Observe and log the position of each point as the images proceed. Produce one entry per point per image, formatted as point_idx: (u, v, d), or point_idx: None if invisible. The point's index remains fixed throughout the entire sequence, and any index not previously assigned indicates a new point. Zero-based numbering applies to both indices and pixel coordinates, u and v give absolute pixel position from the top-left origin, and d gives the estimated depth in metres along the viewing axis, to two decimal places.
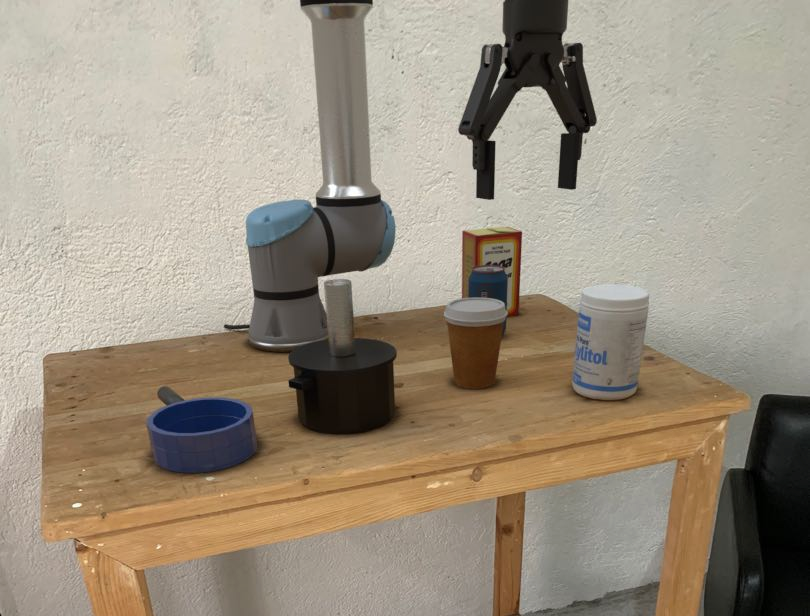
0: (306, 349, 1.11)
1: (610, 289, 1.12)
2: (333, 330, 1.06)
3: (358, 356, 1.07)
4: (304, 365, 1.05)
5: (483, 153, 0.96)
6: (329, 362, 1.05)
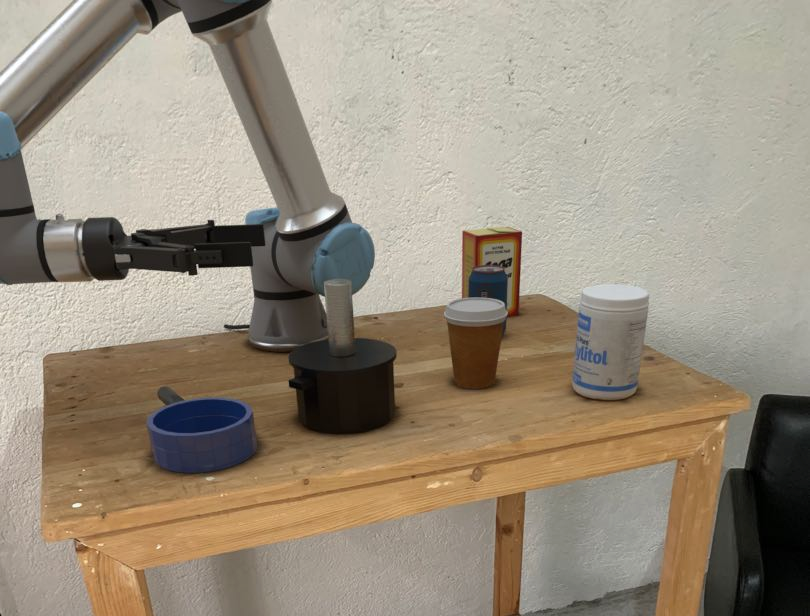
0: (306, 349, 1.11)
1: (610, 289, 1.12)
2: (333, 330, 1.06)
3: (358, 356, 1.07)
4: (304, 365, 1.05)
5: (205, 250, 0.94)
6: (329, 362, 1.05)
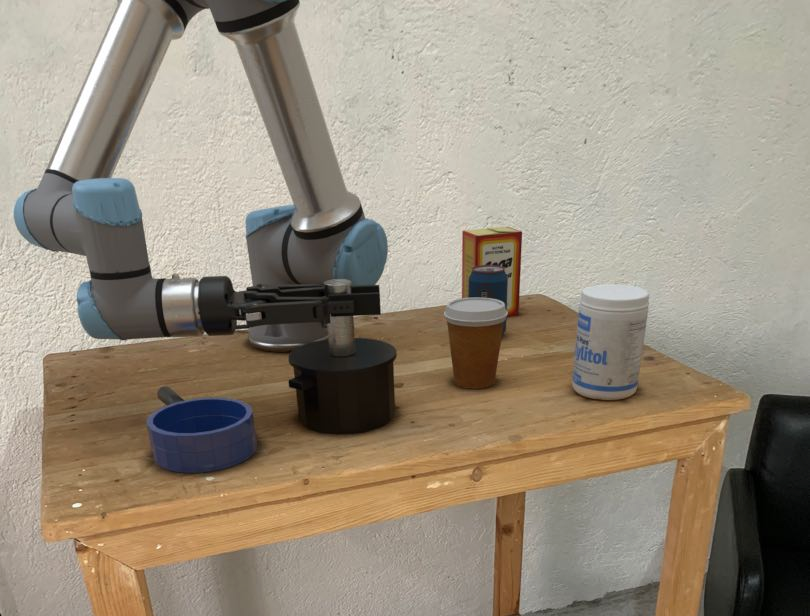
0: (306, 349, 1.11)
1: (610, 289, 1.12)
2: (333, 330, 1.06)
3: (358, 356, 1.07)
4: (304, 365, 1.05)
5: (339, 301, 1.02)
6: (329, 362, 1.05)
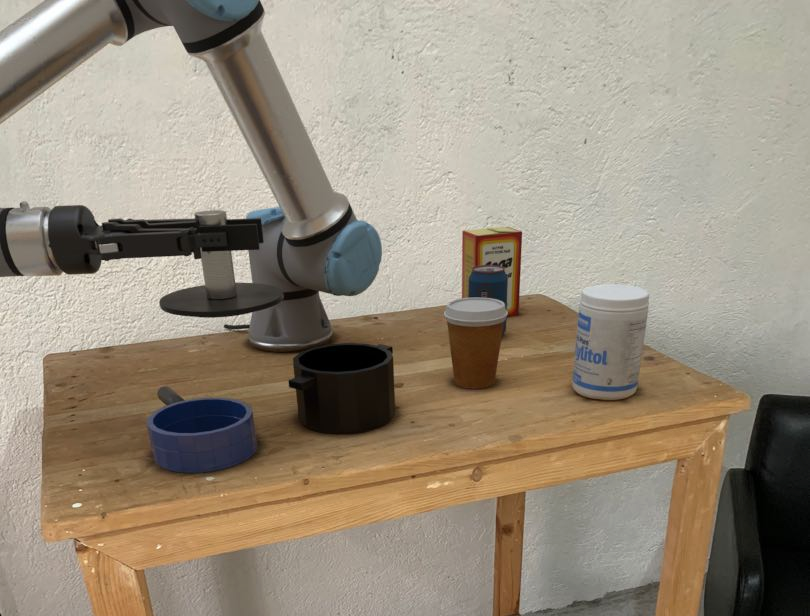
0: (183, 293, 0.98)
1: (610, 289, 1.12)
2: (207, 268, 0.93)
3: (237, 299, 0.95)
4: (173, 307, 0.92)
5: (210, 233, 0.90)
6: (202, 304, 0.93)
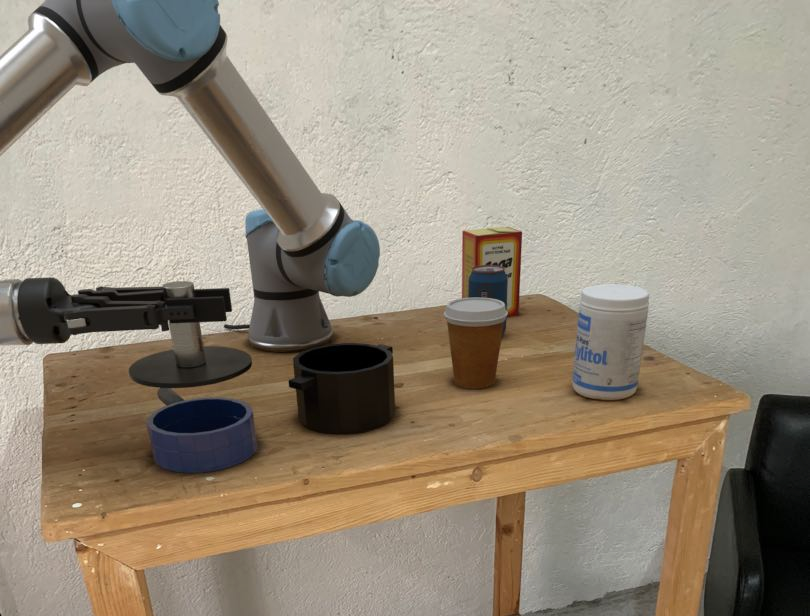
0: (153, 359, 1.00)
1: (610, 289, 1.12)
2: (176, 338, 0.95)
3: (206, 367, 0.96)
4: (141, 376, 0.94)
5: (177, 306, 0.91)
6: (170, 374, 0.94)
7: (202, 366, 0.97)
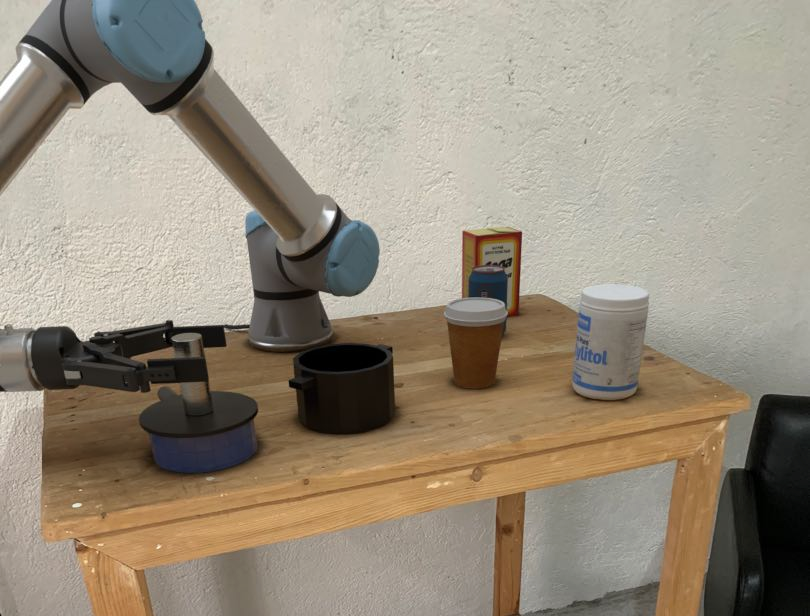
0: (162, 406, 1.03)
1: (610, 289, 1.12)
2: (184, 388, 0.98)
3: (213, 415, 0.99)
4: (151, 426, 0.97)
5: (158, 367, 0.90)
6: (179, 423, 0.98)
7: (210, 414, 1.00)
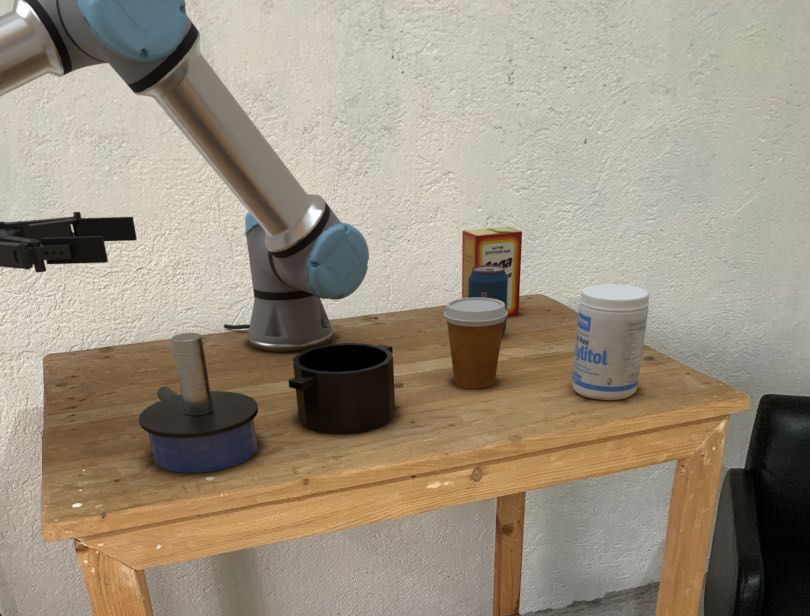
0: (162, 406, 1.03)
1: (610, 289, 1.12)
2: (184, 388, 0.98)
3: (213, 415, 0.99)
4: (151, 426, 0.97)
5: (52, 245, 0.87)
6: (179, 423, 0.98)
7: (210, 414, 1.00)
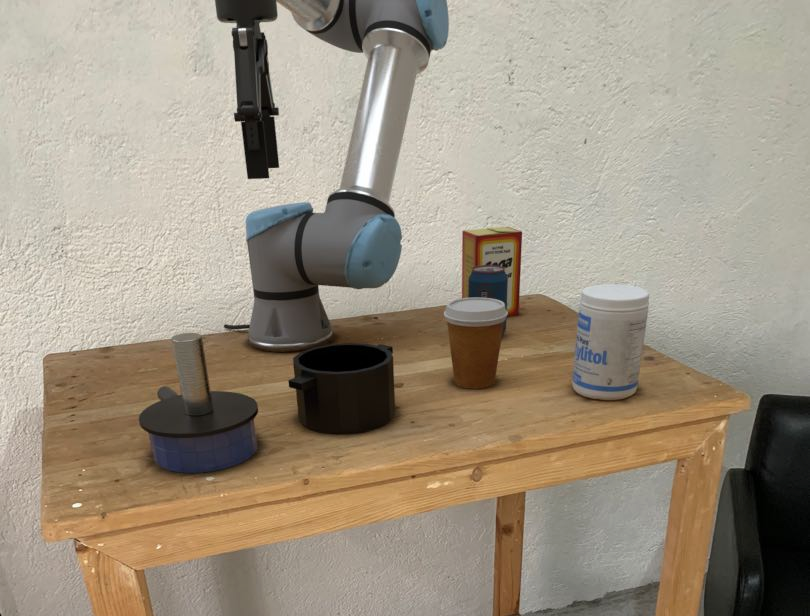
0: (162, 406, 1.03)
1: (610, 289, 1.12)
2: (184, 388, 0.98)
3: (213, 415, 0.99)
4: (151, 426, 0.97)
5: (258, 133, 0.99)
6: (179, 423, 0.98)
7: (210, 414, 1.00)
